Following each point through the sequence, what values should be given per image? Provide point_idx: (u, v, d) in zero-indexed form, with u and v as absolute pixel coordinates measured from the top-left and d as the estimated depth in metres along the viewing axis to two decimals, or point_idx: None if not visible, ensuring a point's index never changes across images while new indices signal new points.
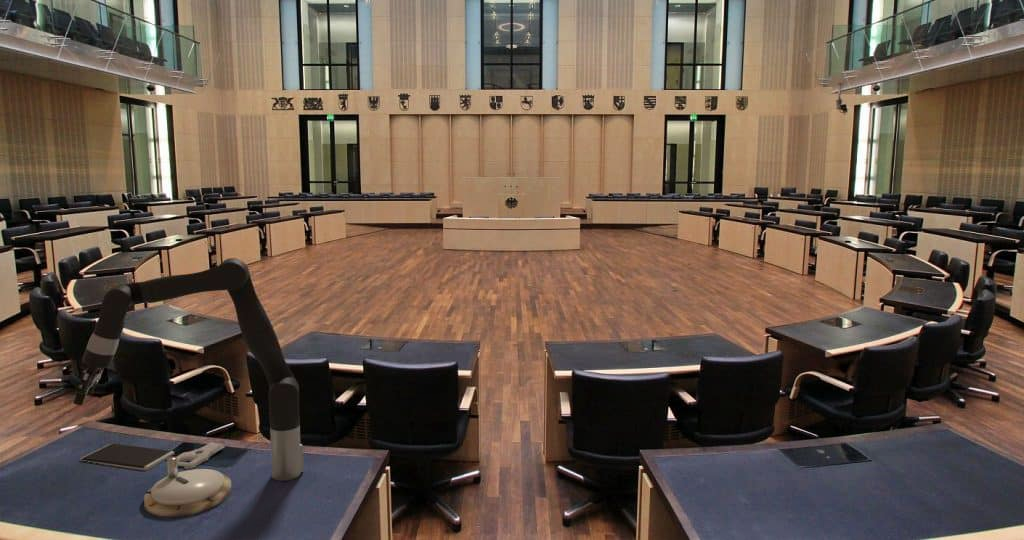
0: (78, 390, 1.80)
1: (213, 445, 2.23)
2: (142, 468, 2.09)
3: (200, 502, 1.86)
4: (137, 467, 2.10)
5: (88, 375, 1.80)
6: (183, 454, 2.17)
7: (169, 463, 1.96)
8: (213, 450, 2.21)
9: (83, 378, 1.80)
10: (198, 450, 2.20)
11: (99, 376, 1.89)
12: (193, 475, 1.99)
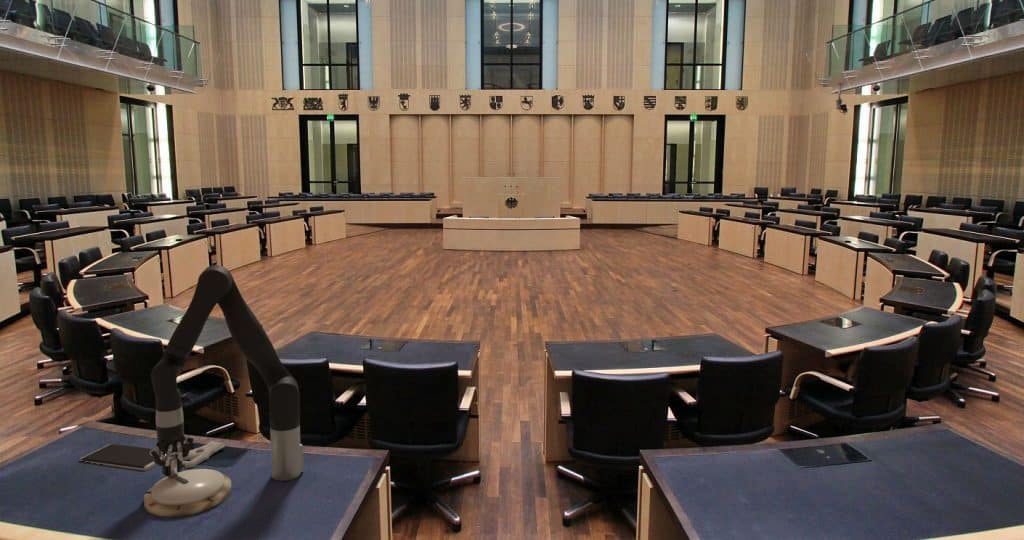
0: (156, 463, 1.93)
1: (214, 444, 2.24)
2: (142, 468, 2.09)
3: (200, 502, 1.86)
4: (137, 467, 2.10)
5: (151, 452, 1.91)
6: None
7: (169, 463, 1.96)
8: (214, 449, 2.22)
9: (151, 455, 1.91)
10: (199, 449, 2.21)
11: (178, 449, 1.96)
12: (193, 475, 1.99)
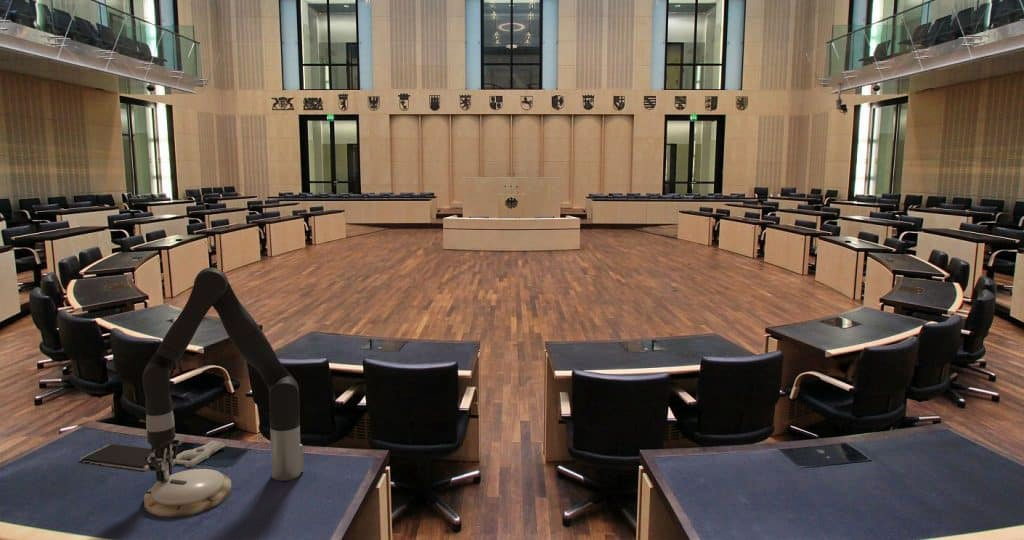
0: (152, 469, 1.89)
1: (214, 443, 2.25)
2: (142, 468, 2.09)
3: (200, 502, 1.86)
4: (137, 467, 2.09)
5: (150, 458, 1.87)
6: (184, 452, 2.19)
7: None
8: (214, 448, 2.22)
9: (148, 462, 1.87)
10: (199, 448, 2.21)
11: (170, 452, 1.94)
12: (185, 476, 1.98)
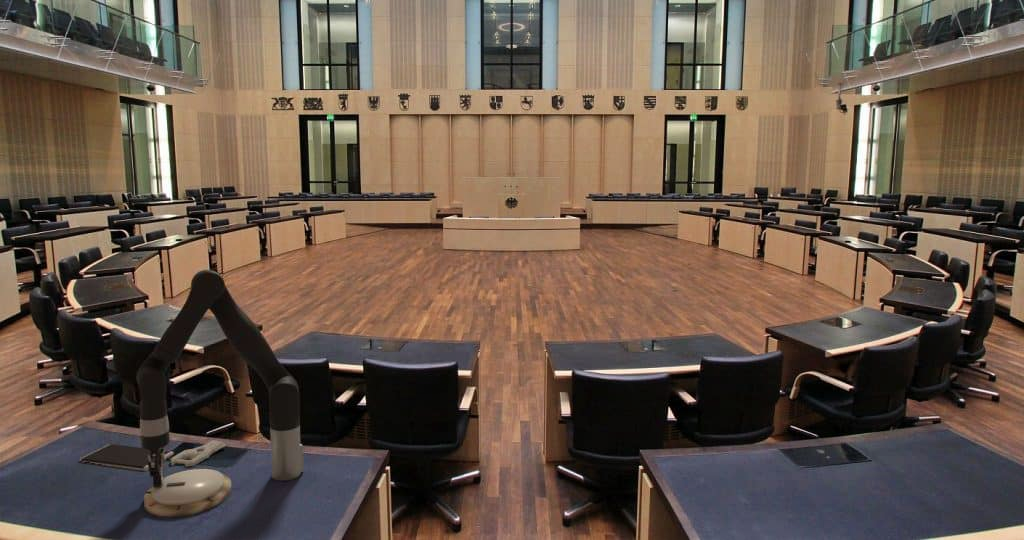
0: (152, 474, 1.86)
1: (215, 443, 2.25)
2: (142, 468, 2.09)
3: (200, 502, 1.86)
4: (137, 467, 2.09)
5: (154, 463, 1.84)
6: (185, 451, 2.19)
7: None
8: (214, 448, 2.23)
9: (151, 467, 1.84)
10: (200, 448, 2.22)
11: (163, 456, 1.91)
12: (177, 478, 1.96)
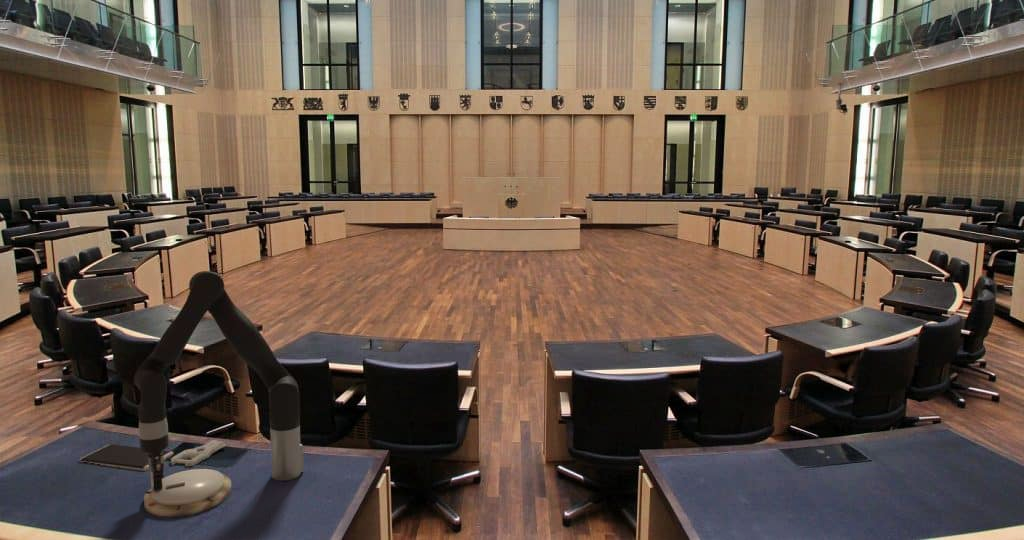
0: (156, 477, 1.84)
1: (215, 443, 2.25)
2: (142, 468, 2.09)
3: (200, 502, 1.86)
4: (136, 467, 2.09)
5: (160, 465, 1.83)
6: (185, 451, 2.19)
7: None
8: (214, 448, 2.23)
9: (157, 469, 1.83)
10: (200, 448, 2.22)
11: None
12: (172, 481, 1.95)
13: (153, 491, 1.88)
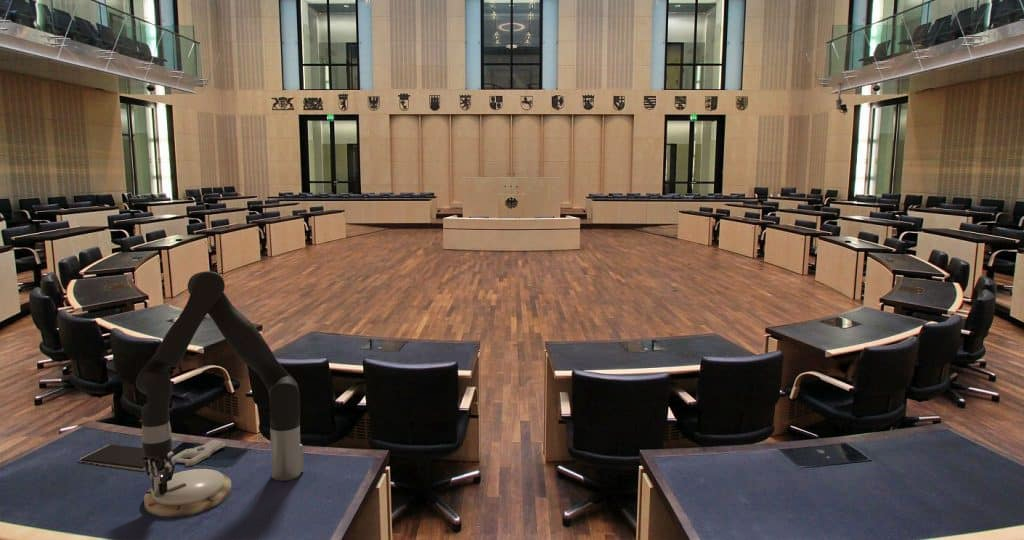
0: (165, 480, 1.83)
1: (215, 442, 2.25)
2: (141, 469, 2.09)
3: (200, 502, 1.86)
4: (136, 468, 2.09)
5: (172, 467, 1.82)
6: (185, 451, 2.20)
7: None
8: (215, 447, 2.23)
9: (168, 471, 1.82)
10: (200, 447, 2.22)
11: None
12: (168, 485, 1.92)
13: (158, 496, 1.85)
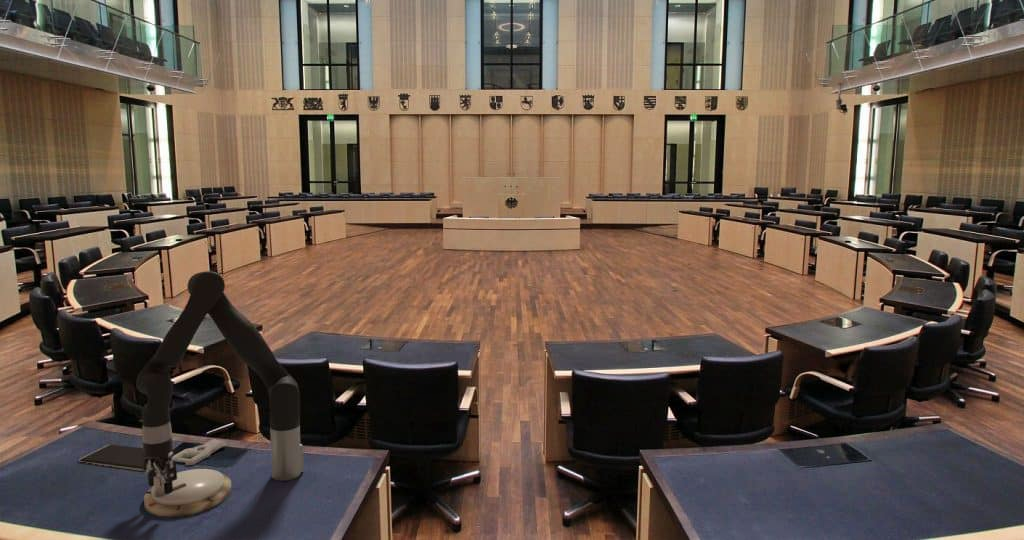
0: (171, 479, 1.81)
1: (215, 442, 2.26)
2: (141, 469, 2.09)
3: (200, 502, 1.86)
4: (136, 468, 2.09)
5: (172, 462, 1.81)
6: (185, 450, 2.20)
7: None
8: (215, 447, 2.24)
9: (170, 467, 1.81)
10: (200, 447, 2.23)
11: None
12: None
13: (158, 496, 1.85)
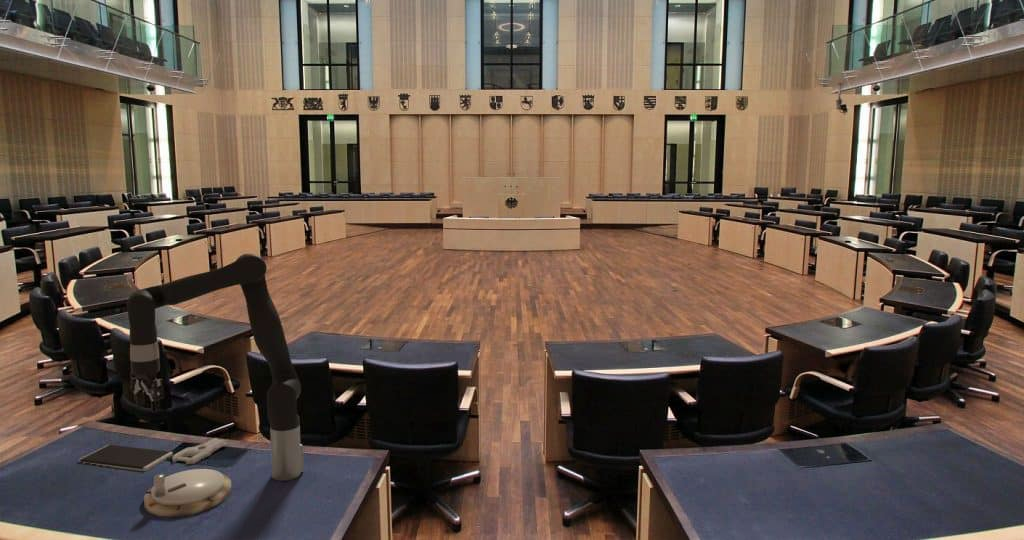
0: (158, 397, 1.84)
1: (216, 441, 2.27)
2: (141, 469, 2.09)
3: (200, 502, 1.86)
4: (136, 468, 2.09)
5: (159, 380, 1.85)
6: (186, 449, 2.21)
7: (163, 478, 1.85)
8: (216, 446, 2.24)
9: (157, 385, 1.84)
10: (201, 446, 2.24)
11: None
12: (167, 485, 1.92)
13: (158, 496, 1.85)
